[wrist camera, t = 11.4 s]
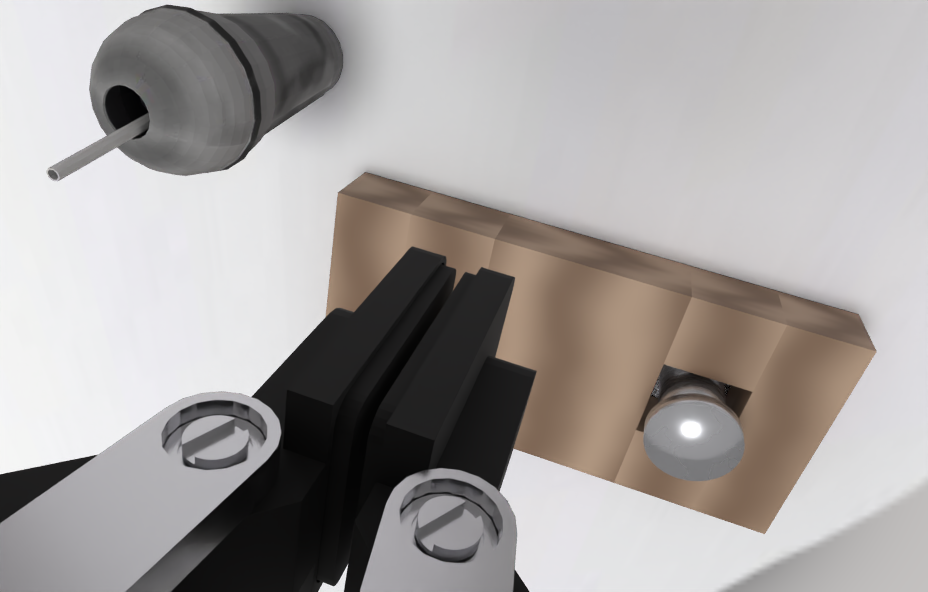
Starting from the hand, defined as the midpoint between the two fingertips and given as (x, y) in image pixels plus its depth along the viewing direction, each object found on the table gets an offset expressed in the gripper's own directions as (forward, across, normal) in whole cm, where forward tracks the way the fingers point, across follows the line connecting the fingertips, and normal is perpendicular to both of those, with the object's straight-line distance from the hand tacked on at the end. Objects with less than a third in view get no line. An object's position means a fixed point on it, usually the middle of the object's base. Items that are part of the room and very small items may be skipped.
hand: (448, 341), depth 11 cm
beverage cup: (+29, +17, +4) cm, 34 cm away
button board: (+29, -2, +17) cm, 34 cm away
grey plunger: (+29, -10, +17) cm, 35 cm away
